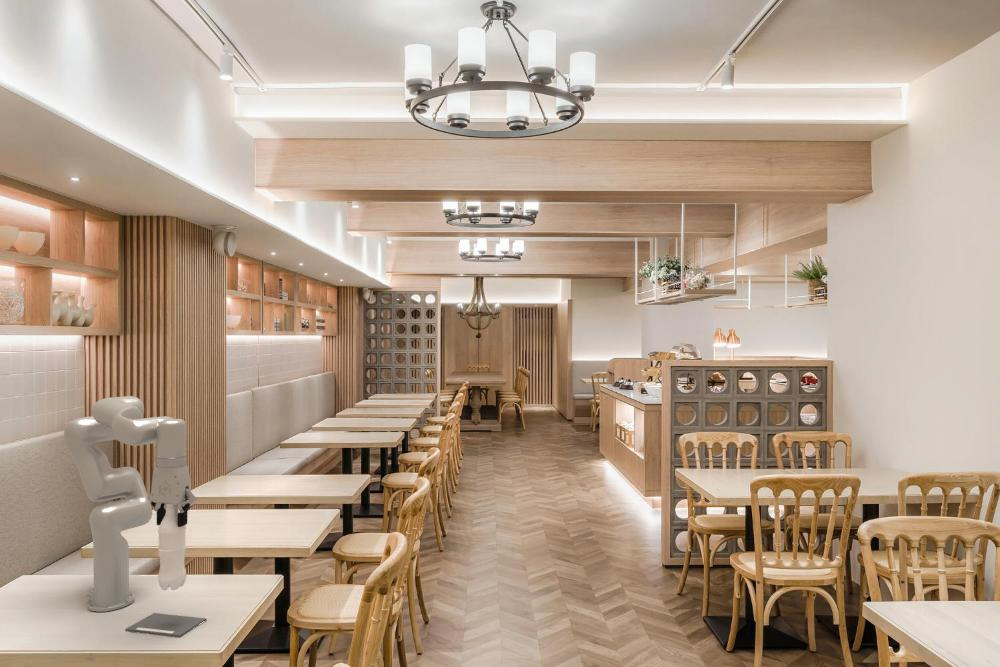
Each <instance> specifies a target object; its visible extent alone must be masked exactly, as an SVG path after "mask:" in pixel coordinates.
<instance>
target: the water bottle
mask: <svg viewBox="0 0 1000 667" xmlns="http://www.w3.org/2000/svg"><path fill="white" fill-rule="evenodd" d="M164 509H165V510H166V514H165V516H164V518H163V520H162V522H161V524H160V525H158V529H157V532H158V549H157V554H158V557H159V565H160V566H159V570H158V571H159V572H158V575H157V576H158V577H157V578H158V580H157V581H158V584H159V587H160V589H161V590H163V591H168V589H169V587H170V590H172V591H176V590H178V589H179V588H180V587H183V586H184V585H185V584H186V581H187V571H186V566H185V556H186V550H187V544H186V530H187V526H186V525H187V524H186V525H184V526H182V527H178V513H180V511H179V509H178V506H177V504H166V505H165V508H164Z"/></svg>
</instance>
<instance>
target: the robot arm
mask: <svg viewBox="0 0 1000 667" xmlns="http://www.w3.org/2000/svg"><path fill="white" fill-rule="evenodd" d="M144 406H145V404H144V403H143V401H142V400H141V399H140V398H139V397H137V396H133V395H126V396H125V395H124V396H113V397H105V398H101V399H100V400H99V399H98V400H97V401H96V402H94V404H93V405H92V406H91V409H90V415H91V416H83V417H79V418H76V419H75V418H74V419H72V420H71V421H69V422H68V423H67V424H66V425H65V427H64V430H63V442H64V446H65V449H66V450H67V453H68V454H69V455H70V457H71V459H72V460H73V462H74V464H75V466H76V467H77V470H78V474H79V477H80V479H81V482H82V485H83V490H84V491H85V494H86V496H87V498H88V500H90V501H91V502H93V503H99V502H101V503H102V502H106V501H110V500H113V501H110V502H106V503H102V504H100V505H97V506H96V507H94V508H93V509H92V510H91V512H90V515H89V518H88V519H89V526H90V530H91V536H92V547H93V548H92V549H93V550H92V551H93V553H92V554H93V587H89V588H88V589H87V591H86V592H84V595H85V597H86V598H87V597H89V598H90V601H89V602H88V603H87V609H88V610H89V611H91V612H95V611H96V612H97V613H98V612H99V613H100V612H101V613H103V612H111V611H115V610H116V611H117V610H120V609H123V608H124V607H127V606H129V605H131V604H132V603H134V602H135V598H136V597H135V594H133V593H131V592H130V573H129V572H130V570H129V569H130V551H129V550H130V546H129V543H128V540H127V539H126V538H125V537H124V536H123V535H122V534H121V533H122V532H124V531H126V530H130V529H135V528H138V527H142V526H145V525H146V524H148V523H149V522H150V521H151V519H152V516H153V510H154V511H155V512H156V526H160V524H161V522H162V520H163V518H164V516H165V514H166V510H165V508H166V504H177V506H178V511H179V513H178V527H182V526H184V525H188V512H189V511H190V509H191V508H192V507H193V506H194V504H195V503H196V502H197V500H198V498H197V497H196V495H195V494H193V492H192V489H191V488H192V485H191V477H190V470H189V466H188V465H187V423H186V421H185V420H184V419H182V418H173V417H171V416H165V415H164V416H153V417H145V418H143V417H144V414H145V407H144ZM115 440H116V441H118V442H120V443H122V444H125V445H128V446H132V447H139V446H143V445H144V446H145V445H149V444H151V445H152V444H156V457H155V458H154V462H155V463H156V467H154V469H153V472H152V478H151V479H152V480H151V489H150V490H151V491H150V493H149V494H148V492H147V489H146V486H145V483H144V481H143V478H142V475H141V473H140V472H139V471H138V470H137V469H136V468H135V467H132V466H122V467H117V468H113V467H112V466H111V464H110V461H109V458H108V456H107V455H106V453H104V451H103V450H101V449H100V448H99V447H97V446H95V445H94V444H93V443H101V442H110V441H115ZM120 498H123V499H120ZM115 499H118V500H115ZM152 507H153V508H154V509H153V508H152Z"/></svg>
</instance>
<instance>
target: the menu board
mask: <svg viewBox="0 0 1000 667" xmlns="http://www.w3.org/2000/svg"><path fill="white" fill-rule="evenodd" d="M205 620H206V621H207V618H205V617H197V616H196V617H195V616H185V615H177V614H169V613H159V612H158V613H157V612H153V613H151V614H150V615H147V616H146V617H144V618H142V619H141V620H139V621H137V622H135V623H133V624H132V625H129V626H128V627H126V628H125V629H124V630H125V632H131V633H137V632H139V633H140V634H146V633H149V634H148V635H157V636H165V637H175V638H181V637H183V636H185V635H186V634H188V633H190V632H191V631H193V630H194V629H195V628H194V627H196V626H197V627H199V626H200V625H201V624H200V623H202V622H203V621H205ZM206 621H205V622H206ZM203 623H204V622H203ZM203 623H202V624H203ZM199 624H200V625H199ZM198 625H199V626H198ZM197 627H196V628H197ZM193 628H194V629H193ZM190 630H191V631H190ZM187 632H188V633H187ZM184 634H185V635H184Z"/></svg>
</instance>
